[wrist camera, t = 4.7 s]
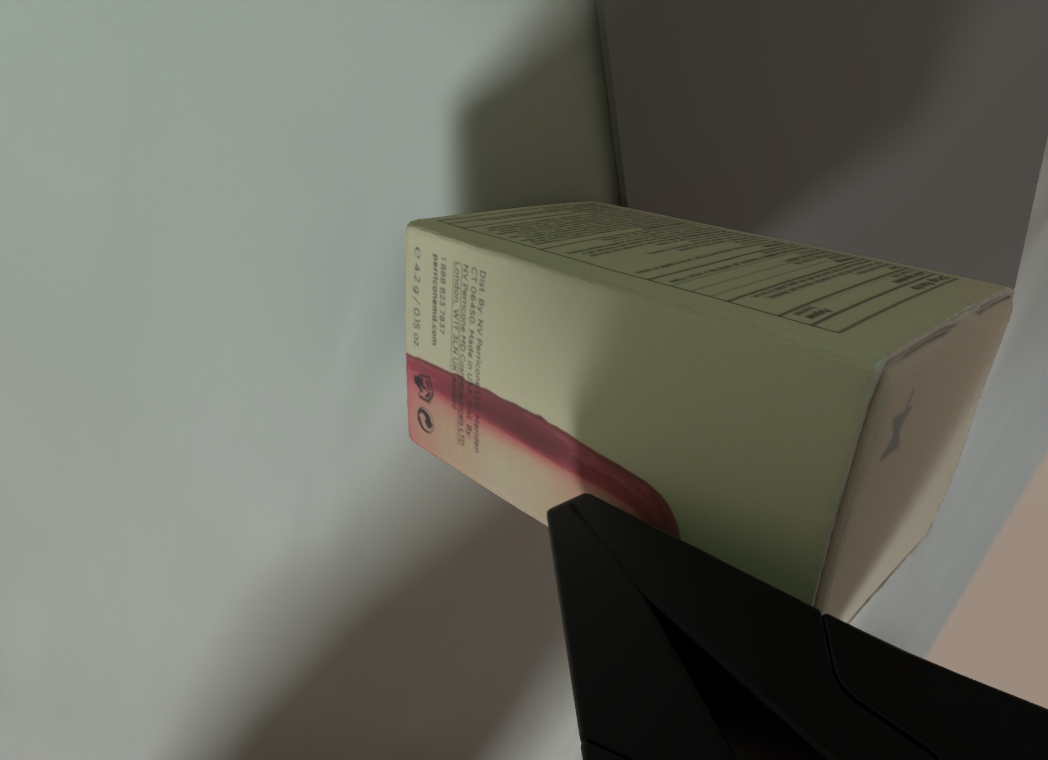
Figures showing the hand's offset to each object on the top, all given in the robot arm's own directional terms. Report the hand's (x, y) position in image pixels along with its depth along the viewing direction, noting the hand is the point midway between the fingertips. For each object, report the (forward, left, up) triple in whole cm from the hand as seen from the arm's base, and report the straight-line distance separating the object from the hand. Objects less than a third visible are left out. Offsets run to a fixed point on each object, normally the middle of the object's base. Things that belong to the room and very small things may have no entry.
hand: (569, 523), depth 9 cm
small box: (0, -1, -6) cm, 6 cm away
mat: (0, -10, -7) cm, 12 cm away
